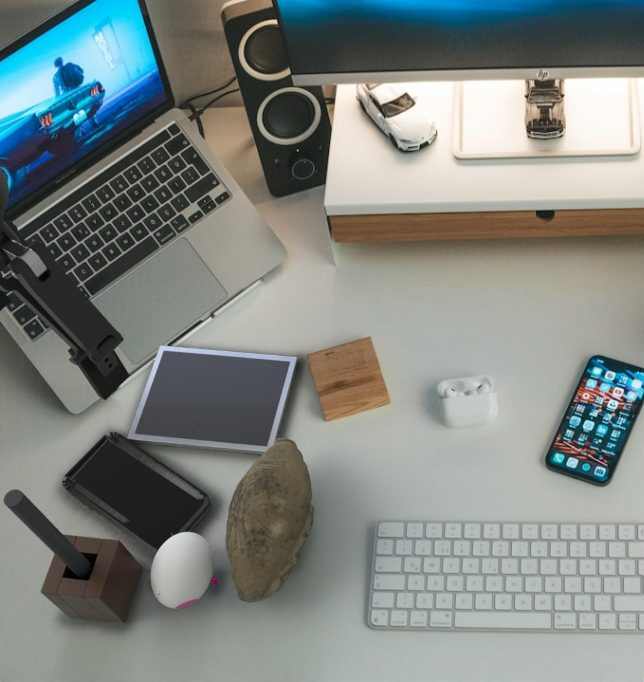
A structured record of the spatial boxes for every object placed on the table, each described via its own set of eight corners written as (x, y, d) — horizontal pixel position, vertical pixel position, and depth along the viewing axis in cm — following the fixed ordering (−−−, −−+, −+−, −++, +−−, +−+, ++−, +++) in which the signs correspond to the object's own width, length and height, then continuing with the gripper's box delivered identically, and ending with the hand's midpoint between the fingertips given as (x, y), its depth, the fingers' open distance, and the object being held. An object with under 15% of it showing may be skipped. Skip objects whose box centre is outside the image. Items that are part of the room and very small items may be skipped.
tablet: (129, 442, 117) (126, 438, 116) (162, 348, 123) (159, 344, 123) (273, 456, 115) (271, 452, 115) (298, 360, 122) (297, 356, 121)
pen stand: (68, 617, 106) (39, 592, 101) (88, 561, 110) (61, 533, 104) (124, 623, 106) (99, 598, 100) (143, 567, 109) (119, 540, 103)
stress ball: (188, 558, 113) (135, 535, 108) (240, 541, 109) (188, 516, 104) (172, 629, 108) (117, 608, 104) (226, 613, 104) (171, 590, 100)
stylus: (95, 598, 107) (0, 505, 89) (101, 583, 108) (7, 488, 90) (111, 600, 107) (18, 507, 89) (116, 585, 108) (25, 489, 90)
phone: (111, 427, 117) (213, 498, 111) (115, 432, 117) (216, 503, 112) (56, 483, 113) (159, 558, 108) (60, 488, 114) (162, 563, 109)
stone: (310, 615, 106) (294, 585, 99) (221, 614, 106) (198, 584, 99) (330, 459, 115) (316, 422, 108) (248, 458, 115) (229, 422, 109)
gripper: (108, 206, 67) (200, 383, 85) (-150, 61, 75) (-17, 251, 93) (17, 289, 64) (133, 456, 82) (-243, 128, 72) (-86, 312, 90)
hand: (53, 347), depth 87 cm, fingers open, 13 cm apart
